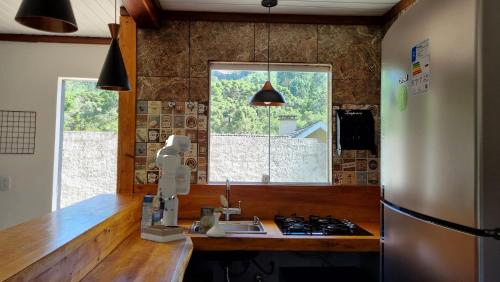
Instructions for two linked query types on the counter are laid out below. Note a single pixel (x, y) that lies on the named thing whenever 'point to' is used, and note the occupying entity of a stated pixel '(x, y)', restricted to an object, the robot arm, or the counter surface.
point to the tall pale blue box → (167, 205)
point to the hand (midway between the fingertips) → (165, 208)
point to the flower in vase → (216, 230)
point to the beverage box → (150, 212)
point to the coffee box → (206, 219)
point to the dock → (162, 233)
